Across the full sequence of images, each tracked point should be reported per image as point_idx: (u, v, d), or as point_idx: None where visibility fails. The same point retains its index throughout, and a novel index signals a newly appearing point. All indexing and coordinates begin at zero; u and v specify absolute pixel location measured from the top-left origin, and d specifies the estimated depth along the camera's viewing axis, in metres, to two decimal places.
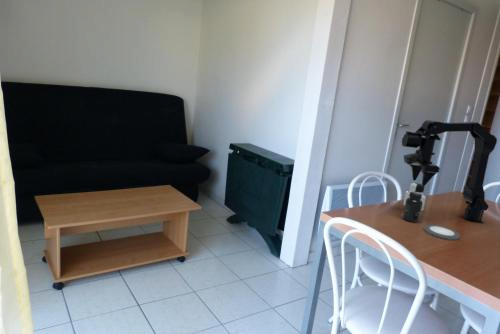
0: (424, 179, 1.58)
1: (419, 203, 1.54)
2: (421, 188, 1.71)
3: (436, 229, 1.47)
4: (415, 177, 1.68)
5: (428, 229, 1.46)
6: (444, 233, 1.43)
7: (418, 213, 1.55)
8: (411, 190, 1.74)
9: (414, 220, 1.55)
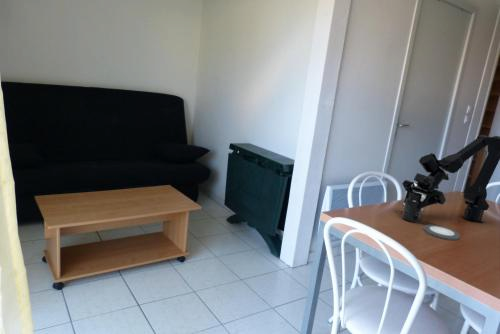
0: (424, 203, 1.53)
1: (419, 203, 1.54)
2: None
3: (436, 229, 1.47)
4: None
5: (428, 229, 1.46)
6: (444, 233, 1.43)
7: (418, 213, 1.55)
8: None
9: (414, 220, 1.55)
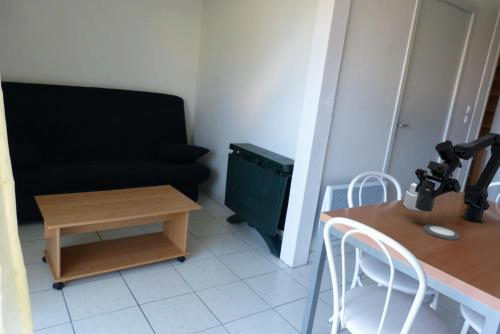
0: (438, 191, 1.47)
1: (433, 192, 1.48)
2: None
3: (436, 229, 1.47)
4: None
5: (428, 229, 1.46)
6: (444, 233, 1.43)
7: (432, 202, 1.49)
8: (411, 190, 1.74)
9: (428, 209, 1.50)
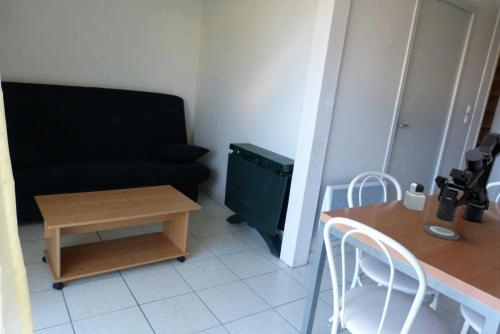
0: (461, 200, 1.39)
1: (456, 201, 1.40)
2: (421, 188, 1.71)
3: (436, 229, 1.47)
4: None
5: (428, 229, 1.46)
6: (444, 233, 1.43)
7: (454, 212, 1.41)
8: (411, 190, 1.74)
9: (450, 219, 1.42)
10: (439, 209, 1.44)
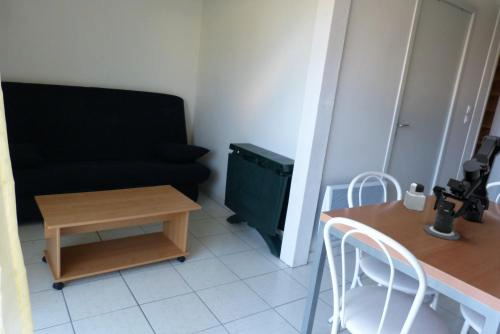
0: (461, 211, 1.39)
1: (453, 213, 1.41)
2: (421, 188, 1.71)
3: None
4: (436, 207, 1.48)
5: (428, 229, 1.46)
6: (444, 233, 1.43)
7: (452, 224, 1.42)
8: (411, 190, 1.74)
9: (447, 231, 1.43)
10: (436, 221, 1.45)
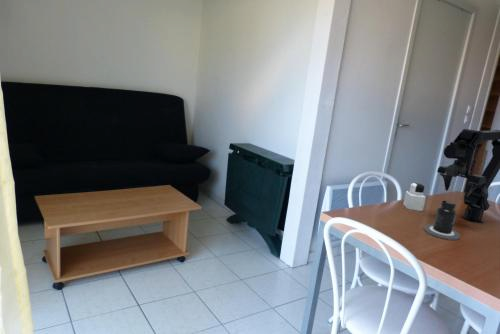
0: (469, 190, 1.53)
1: (453, 213, 1.41)
2: (421, 188, 1.71)
3: None
4: (448, 187, 1.63)
5: (428, 229, 1.46)
6: (444, 233, 1.43)
7: (451, 224, 1.42)
8: (411, 190, 1.74)
9: (447, 231, 1.43)
10: (436, 221, 1.45)
